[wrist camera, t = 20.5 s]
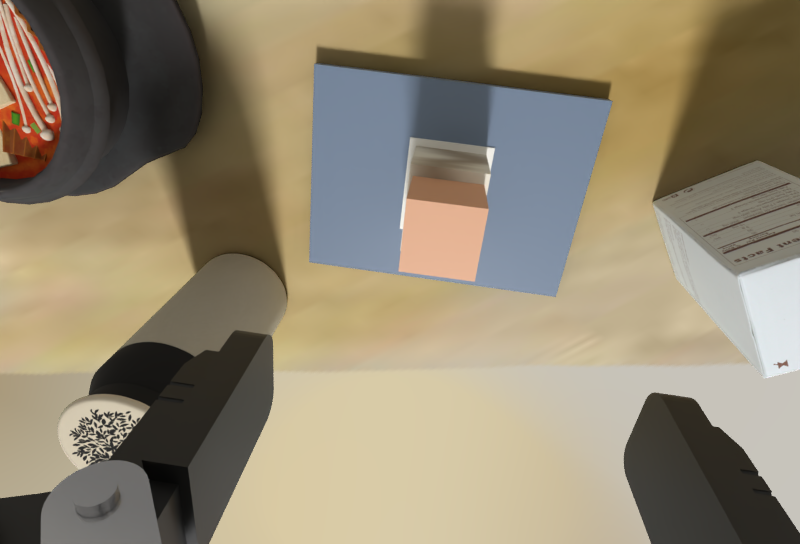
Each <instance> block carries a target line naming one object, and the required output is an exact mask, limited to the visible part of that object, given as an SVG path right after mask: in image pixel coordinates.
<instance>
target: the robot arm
mask: <svg viewBox="0 0 800 544" xmlns="http://www.w3.org/2000/svg"><path fill="white" fill-rule="evenodd" d="M273 390H274V387H273V340H272V337H271V335H267V334H261V333H254V332H247V331H240V330H235V331H234V332H233V333H232V334H231V335H230V337H229V338H228V339H227V341H226V342H225V344H224V345H223V346H222V348H221V349H220V351H219V352H218V351H211V350H205V351H203V352H202V353H200V354H199V355H197V356H195V357H194V358H192V359H191V360H189V361H188V362H186V363H184V365H183V366H182V367H181V368H180V370H179V371H178V372H177V374H176V375H175V376H174V377H173V379H172V380H171V382H170V385H167V386H166V388H165V389H164V390H163V391H162V393H161V394H160V395H159V398H158V400H155V401H154V403H153V404H152V405H151V407H150V408H149V409H148V410H147V412H146V413H145V414H144V415H143V417H142V418H141V419H140V421H139V422H138V423H137V424H136V426H135V427H134V428H133V429H132V431H131V432H130V433H129V434H128V436H127V437H126V438H125V440H124V441H123V442H122V443H121V445H120V446H119V447H118V448H117V450H116V451H115V452H114V454H113V455H112V456H111V457H110V458H109V460H108V461H104V462H99V463H95V464H92V465H89V466H87V467H84V468H82V469H80V470H78V471H76V472H75V473H73V474H71V475H70V476H68V477H67V478H66V479H64V480H63V481H62V482H60V483H59V485H57V486H56V487H55V488H54V489H53V491H52V492H46V493H40V494H32V495H24V496H16V497H8V498H0V544H209V542H210V540H211V538H212V536H213V534H214V531H215V530H216V527H217V525H218V523H219V521H220V519H221V517H222V515H223V512H224V510H225V508H226V506H227V504H228V502H229V499H230V498H231V495H232V493H233V491H234V489H235V487H236V485H237V483H238V481H239V478H240V476H241V474H242V472H243V470H244V468H245V466H246V464H247V461H248V459H249V457H250V455H251V453H252V451H253V449H254V447H255V444H256V442H257V440H258V438H259V436H260V434H261V432H262V430H263V427H264V425H265V423H266V421H267V419H268V416H269V413H270V410H271V405H272V400H273ZM624 469H625V474H626V477H627V480H628V482H629V485H630V488H631V491H632V493H633V496H634V498H635V501H636V504H637V506H638V509H639V512H640V515H641V517H642V520H643V522H644V525H645V528H646V531H647V533H648V536H649V539H650V541H651V544H800V533H799V532H798V530H797V529H796V527H795V526H794V524H793V523H792V521H791V520H790V518H789V517H788V515H787V514H786V512H785V511H784V509H783V508H782V506H781V505H780V503H779V502H778V501H777V499H776V497H774V496H772V495H771V492H772V491H771V490H770V488H769V487H768V485H767V484H766V482H765V481H764V479H763V478H762V477H761V476H758V471H757V469H756V468H755V466H754V465H753V463H752V462H751V460H750V459H749V457H748V456H747V454H746V453H745V451H744V450H743V449H742V448H741V447H740V446H739V445H738V444H737V443H736V442H735V441H734V440H732V439H731V438H730V437H729V436H728V435H727V434H726V433H724V431H723V430H721V429H720V428H719V427H713V426H712V425H711V423H710V422H709V420H708V418H707V417H706V415H705V414H704V412H703V411H702V409H701V407H700V406H699V404H698V403H697V402H696V401H695V400H694V399H692V398H688V397H681V396H675V395H668V394H660V393H652V394H650V395H649V396H648V397H647V399H646V401H645V404H644V405H643V408H642V410H641V412H640V415H639V417H638V419H637V421H636V424H635V426H634V428H633V431H632V433H631V435H630V437H629V440H628V442H627V444H626V448H625V452H624Z"/></svg>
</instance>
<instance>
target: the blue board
mask: <svg viewBox="0 0 800 544" xmlns="http://www.w3.org/2000/svg"><path fill="white" fill-rule="evenodd" d="M611 105H612V101H611V100H609V99H603V98H595V97H587V96H579V95H571V94H563V93H555V92H547V91H539V90H531V89H523V88H515V87H507V86H499V85H491V84H483V83H475V82H467V81H459V80H451V79H443V78H435V77H427V76H419V75H411V74H403V73H395V72H387V71H379V70H371V69H363V68H355V67H347V66H339V65H331V64H323V63H316V64H314V98H313V138H312V178H311V217H310V257H309V262H312V263H319V264H326V265H333V266H340V267H347V268H355V269H362V270H369V271H376V272H383V273H390V274H397V275H404V276H411V277H418V278H425V279H433V280H440V281H447V282H454V283H461V284H468V285H475V286H482V287H489V288H496V289H504V290H511V291H518V292H525V293H532V294H539V295H546V296H553V297H556V294H557V291H558V287H559V284H560V280H561V277H562V273H563V270H564V266H565V263H566V260H567V256H568V253H569V249H570V246H571V242H572V239H573V236H574V232H575V229H576V225H577V222H578V218H579V215H580V211H581V208H582V205H583V201H584V198H585V194H586V191H587V187H588V184H589V180H590V177H591V174H592V170H593V167H594V163H595V160H596V156H597V153H598V150H599V146H600V143H601V139H602V136H603V132H604V129H605V125H606V122H607V119H608V115H609V112H610V108H611ZM416 146H423V147H431V148H438V149H446V150H453V151H461V152H469V153H476V154H484V155H487V160H488V164H489V168H490V172H491V177H490V182H489V187H488V192H487V202H488V207H489V211H488V216H487V221H486V226H485V231H484V237H483V242H482V247H481V252H480V257H479V262H478V268H477V273H476V278H475V282H473V281H466V280H458V279H451V278H443V277H436V276H429V275H421V274H414V273H406V272H399V262H400V253H401V251H400V248H401V240H402V231H403V223H404V214H405V206H406V198H407V189H408V181H409V172H410V164H411V161H412V157H413V154H414V151H415V148H416Z"/></svg>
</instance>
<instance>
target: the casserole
mask: <svg viewBox="0 0 800 544" xmlns="http://www.w3.org/2000/svg"><path fill="white" fill-rule="evenodd" d="M202 95H203V86H202V78H201V70H200V62H199V57H198V54H197V51H196V47H195V44H194V41H193V37H192V34H191V31H190V28H189V26H188V24H187V22H186V20H185V18H184V16H183V14H182V11H181V9H180V7H179V5H178V3H177V1H176V0H0V201H3V202H7V203H18V204H36V203H44V202H51V201H53V200H56V199H59V198H61V197H64V196H67V195H68V196H79V195H87V194H95V193H98V192H101V191H104V190H106V189H109V188H112V187H114V186H116V185H117V184H119V183H120V182H121V181H123V180H124V179H126V178H127V177H128V176H130V175H131V174H133V173H134V172H135V171H137V170H138V169H140V168H141V167H142V166H144V165H145V164H146V163H149V162H151V161H153V160H156V159H158V158H161V157H163V156H165V155H168V154H170V153H173V152H175V151H177V150H180V149H182V148H185V147H186V146H187V144H188V143H189V142H190V140H191V139H192V138H193V137H194V135H195V134H196V132H197V128H198V125H199V121H200V118H201V114H202Z"/></svg>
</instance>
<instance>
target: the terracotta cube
mask: <svg viewBox="0 0 800 544" xmlns="http://www.w3.org/2000/svg"><path fill="white" fill-rule="evenodd" d="M488 211H489V207H488V202H487V196H486V191H485V185H482V184H474V183H466V182H459V181H451V180H443V179H435V178H427V177H419V176H413V177H412V180H411V184H410V188H409V191H408V195H407V199H406V208H405V217H404V226H403V235H402V244H401V253H400V262H399V272H406V273H414V274H421V275H429V276H436V277H443V278H451V279H458V280H466V281H473V282H475V278H476V273H477V268H478V262H479V257H480V252H481V247H482V242H483V237H484V231H485V226H486V221H487V216H488Z"/></svg>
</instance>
